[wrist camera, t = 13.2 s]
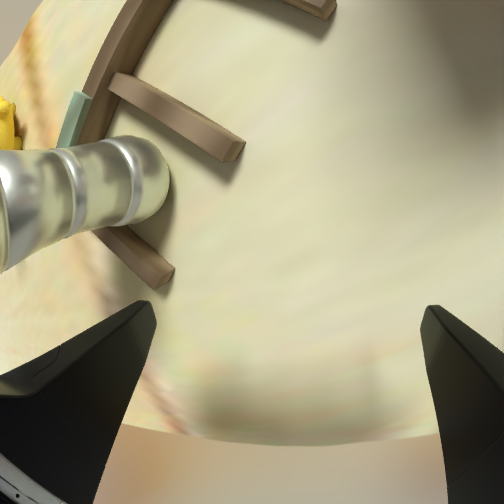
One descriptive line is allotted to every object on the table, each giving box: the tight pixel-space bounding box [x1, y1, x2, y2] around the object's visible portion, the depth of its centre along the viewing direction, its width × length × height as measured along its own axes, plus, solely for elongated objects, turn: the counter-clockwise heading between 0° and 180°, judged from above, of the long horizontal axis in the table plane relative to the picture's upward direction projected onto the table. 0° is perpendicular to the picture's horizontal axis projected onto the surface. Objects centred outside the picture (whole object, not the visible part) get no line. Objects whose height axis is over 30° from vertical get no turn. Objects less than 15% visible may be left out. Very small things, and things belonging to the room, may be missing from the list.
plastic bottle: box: [0, 135, 170, 274], centre depth 14 cm, size 6×7×20 cm
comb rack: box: [56, 0, 337, 290], centre depth 19 cm, size 14×24×4 cm, turn 147°
